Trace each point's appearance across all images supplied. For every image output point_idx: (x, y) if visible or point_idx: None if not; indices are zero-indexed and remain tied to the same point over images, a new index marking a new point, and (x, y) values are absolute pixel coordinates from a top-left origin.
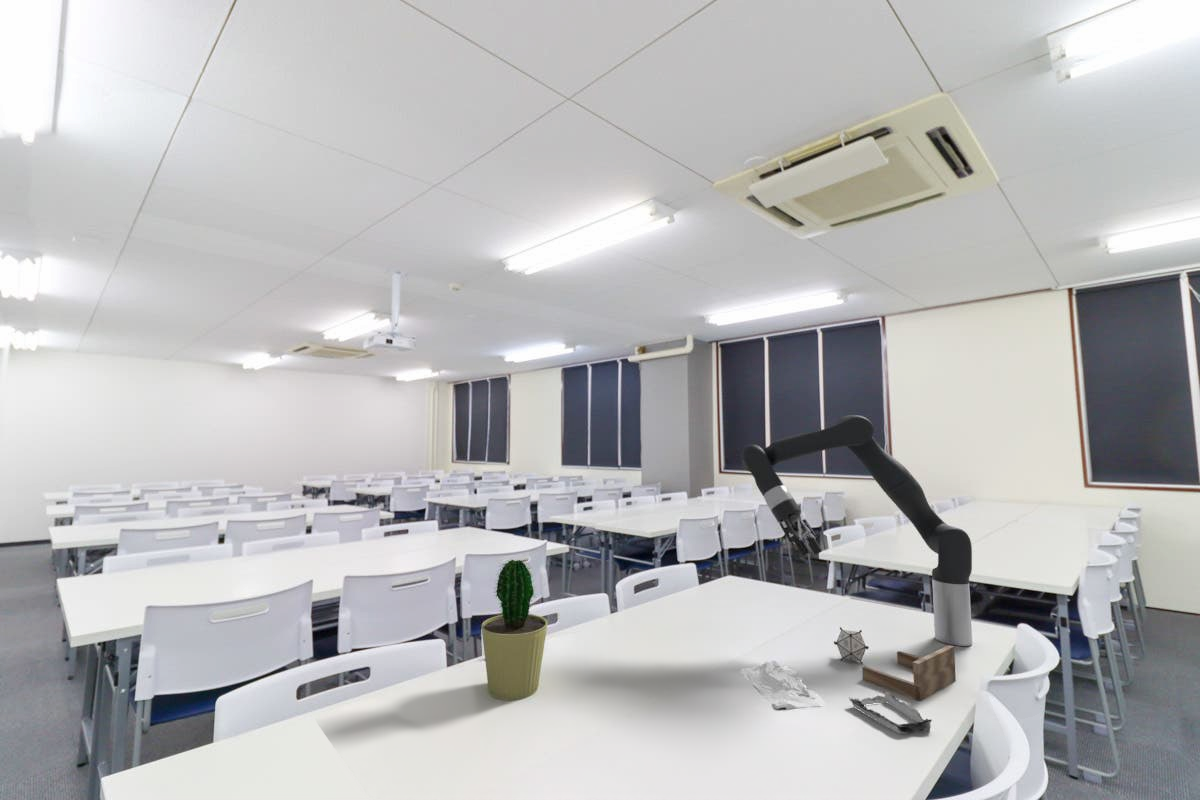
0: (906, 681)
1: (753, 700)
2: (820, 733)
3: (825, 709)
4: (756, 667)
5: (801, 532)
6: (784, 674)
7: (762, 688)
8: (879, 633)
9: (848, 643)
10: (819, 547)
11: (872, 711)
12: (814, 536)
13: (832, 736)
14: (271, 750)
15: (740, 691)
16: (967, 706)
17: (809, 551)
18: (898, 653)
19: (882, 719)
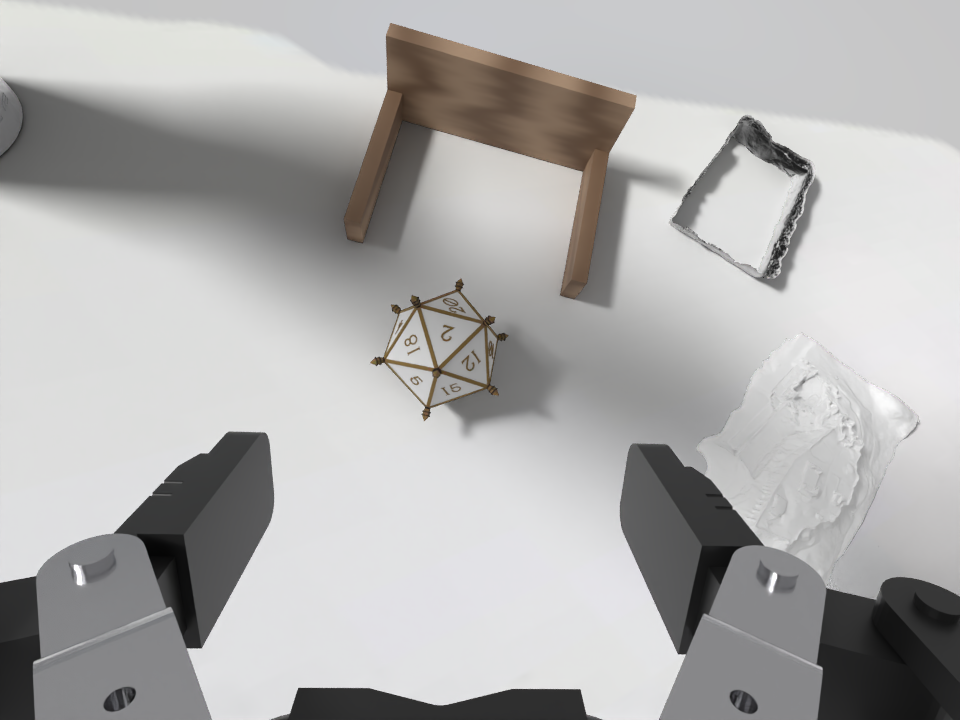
0: (599, 169)
1: (923, 489)
2: (920, 302)
3: (817, 327)
4: None
5: (721, 624)
6: (816, 453)
7: (867, 496)
8: (15, 358)
9: (491, 339)
10: (236, 450)
11: (791, 221)
12: (73, 558)
13: (910, 280)
14: None
15: (912, 546)
16: None
17: (639, 444)
18: (362, 220)
19: (792, 204)
